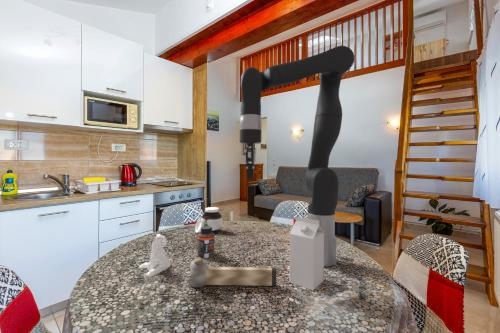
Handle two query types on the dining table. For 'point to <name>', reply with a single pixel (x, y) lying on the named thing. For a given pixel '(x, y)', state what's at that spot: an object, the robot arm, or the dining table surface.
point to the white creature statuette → (157, 257)
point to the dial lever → (230, 275)
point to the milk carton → (306, 253)
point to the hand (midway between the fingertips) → (250, 179)
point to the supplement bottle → (206, 242)
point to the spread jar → (210, 220)
